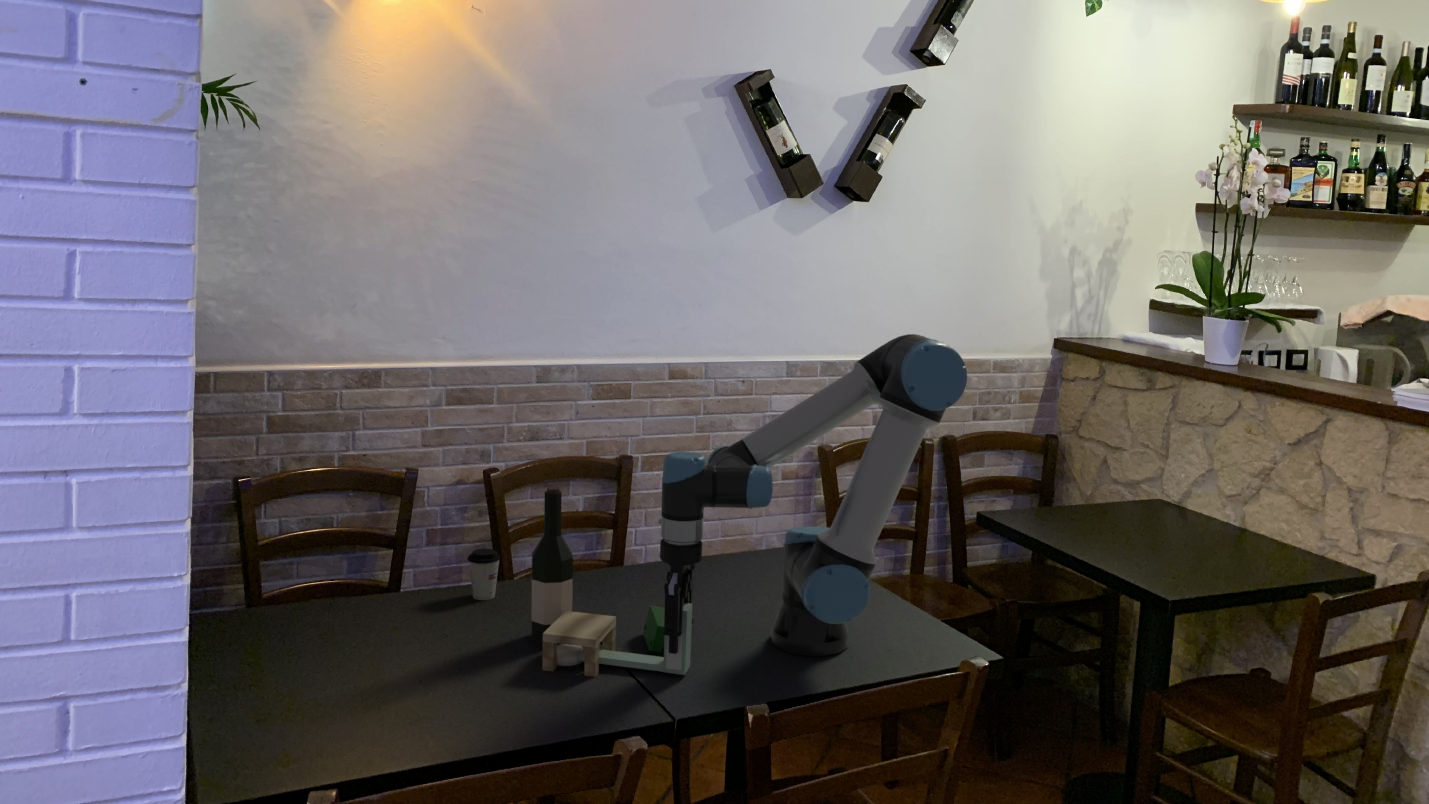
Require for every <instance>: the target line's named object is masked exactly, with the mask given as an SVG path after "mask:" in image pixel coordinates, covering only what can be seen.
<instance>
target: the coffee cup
mask: <svg viewBox="0 0 1429 804" xmlns="http://www.w3.org/2000/svg"><path fill="white" fill-rule="evenodd" d="M500 556H501V555H500V554H499V553H498V552H497V550H495V549H492V548H485V547H484V548H477V549H474V550H473V551H472V552H471V553H470V554H468V556H467V558H466V559H467V562H468V568H469V576H470V577H469V578H470V583H471V590H472V598H473V599H475V600H476V601H487V600H489V601H490V600H492V599H494V598H495V597H496V596H495V595H496V590H497V589H496V588H497V581H498V573H499V565H500V560H501V557H500Z"/></svg>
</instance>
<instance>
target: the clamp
mask: <svg viewBox="0 0 1429 804" xmlns="http://www.w3.org/2000/svg"><path fill="white" fill-rule="evenodd" d="M664 616H665V607H660V606H656V605H649V608H648V612H647V614H646V618H645V622H644V626H643V630H642V631H643V632H642V633H643V637H644V640H645V642H646V646H647V649H648V651H649V652H654V653H658V654H661V653H662V651H663V650H664V638H665V635H663V634H662V632H663V631H664Z"/></svg>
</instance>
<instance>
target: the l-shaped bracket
mask: <svg viewBox="0 0 1429 804" xmlns="http://www.w3.org/2000/svg"><path fill="white" fill-rule="evenodd" d="M692 619H693V603H692V604H690V603H684V604H683V617H682V629H681V632H682V633H681V634H683V642H682V668H681V670H674V669H666V651H667V635H665V638H664V646H663V656H658V655H657V656H656V655H648V654H641V653H634V652H625V651H624V652H623V651H617V650H615V651H610V650H602V648H599V664H602V665H609V666H616V667H625V668H633V669H638V670H647V671H656V672H662V673H666V674H674V675H682V676H685V675H686V674H687V672H688V670H689V668H690V667H691V652H692V651H691V650H692V649H691V648H692V625H693V624H692ZM583 649H584V650H583V651H582V652H581V653H580V655H579V661H583V662H584V663H585V648H583Z"/></svg>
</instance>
